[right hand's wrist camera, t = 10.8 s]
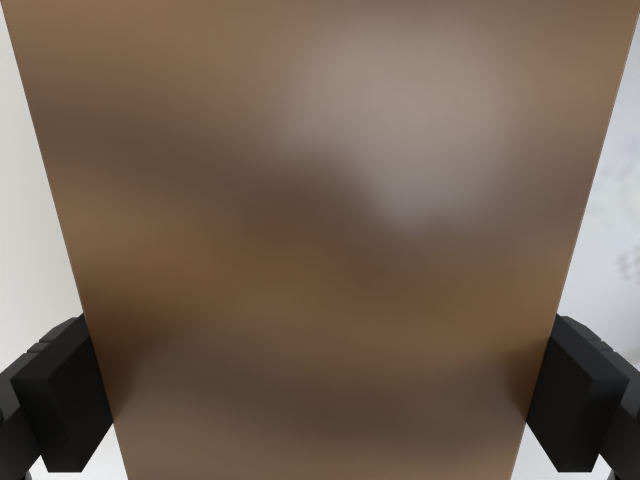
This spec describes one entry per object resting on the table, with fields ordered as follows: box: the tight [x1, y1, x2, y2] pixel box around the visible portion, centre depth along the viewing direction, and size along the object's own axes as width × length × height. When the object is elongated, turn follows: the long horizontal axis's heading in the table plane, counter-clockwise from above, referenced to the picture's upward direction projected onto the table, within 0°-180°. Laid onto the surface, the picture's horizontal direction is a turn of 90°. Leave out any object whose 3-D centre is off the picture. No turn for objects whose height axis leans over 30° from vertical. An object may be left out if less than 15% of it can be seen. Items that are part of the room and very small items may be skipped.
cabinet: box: [0, 0, 640, 480], centre depth 11 cm, size 20×11×10 cm, turn 0°
